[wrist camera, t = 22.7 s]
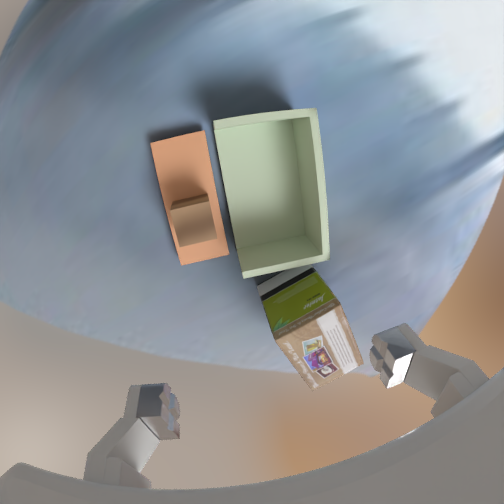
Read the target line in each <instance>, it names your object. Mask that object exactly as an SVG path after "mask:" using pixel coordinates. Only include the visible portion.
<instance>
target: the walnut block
mask: <svg viewBox="0 0 504 504" xmlns="http://www.w3.org/2000/svg"><path fill="white" fill-rule="evenodd" d="M170 213H171V217H172V221H173V225H174V229H175V232H176V236H177V240H178V243H179V247H183V246H188V245H192V244H196V243H201V242H205V241H209V240H214V239H217V234H216V230H215V225H214V220H213V216H212V211H211V206H210V202H209V197H208V193H207V194H202V195H198V196H194V197H189V198H185V199H181V200H177V201H173V202H172V205H171V208H170Z"/></svg>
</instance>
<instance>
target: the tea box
mask: <svg viewBox="0 0 504 504" xmlns="http://www.w3.org/2000/svg"><path fill="white" fill-rule="evenodd" d="M257 289H258V292H259V295H260V298H261V301H262V304H263V307H264V310H265V313H266V316H267V319H268V322H269V325H270V328H271V331H272V334H273V337H274V339H275V341H276V343H277V344H278V346H279V347H280V348H281V350H282V351H283V352H284V354H285V355H286V356H287V358H288V359H289V360H290V362H291V363H292V365H293V366H294V367H295V369H296V370H297V371H298V373H299V374H300V375H301V377H302V378H303V379H304V381H305V382H306V383H307V385H308V386H309V387H310V388H311V390H312V391H314V390H316V389H318V388H320V387H322V386H324V385H326V384H328V383H329V382H331V381H333V380H335V379H337V378H339V377H340V376H342V375H344V374H346V373H348V372H349V371H351V370H353V369H355V368H356V367H358V366H360V365H361V364H364V363H363V360H362V357H361V354H360V351H359V349H358V346H357V344H356V341H355V338H354V336H353V333H352V331H351V328H350V326H349V323H348V320H347V318H346V316H345V313H344V311H343V308H342V306H341V304H340V302H339V301H338V299H337V298H336V296H335V295H334V294H333V292H332V291H331V290H330V289H329V287H328V286H327V284H326V283H325V282H324V281H323V279H322V278H321V277H320V275H319V274H318V273H317V271H316V270H315V269H314V268H313V266H312V265H311V264H309V265H304V266H300V267H295V268H291V269H287V270H285V271H283V272H281V273H280V274H278V275H276V276H274V277H272V278H271V279H269V280H267V281H265V282H263V283H262V284H260V285H258V286H257Z"/></svg>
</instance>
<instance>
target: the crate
mask: <svg viewBox="0 0 504 504" xmlns="http://www.w3.org/2000/svg"><path fill="white" fill-rule="evenodd" d="M213 127H214V133H215V139H216V144H217V149H218V155H219V160H220V166H221V171H222V176H223V182H224V187H225V192H226V197H227V203H228V208H229V213H230V218H231V223H232V228H233V233H234V238H235V243H236V248H237V253H238V258H239V262H240V266H241V270H242V274H243V279H244V278H249V277H254V276H258V275H263V274H268V273H272V272H277V271H282V270H286V269H291V268H295V267H300V266H304V265H309V264H313V263H317V262H322V261H326V260H330V254H329V230H328V213H327V199H326V187H325V175H324V165H323V156H322V147H321V138H320V131H319V123H318V116H317V109H316V108H309V109H296V110H284V111H275V112H266V113H258V114H251V115H244V116H238V117H232V118H226V119H220V120H215V121H213Z"/></svg>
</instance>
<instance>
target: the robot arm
mask: <svg viewBox="0 0 504 504" xmlns="http://www.w3.org/2000/svg"><path fill="white" fill-rule="evenodd" d="M372 343H373V347H372V348H371V349H370V361H371V364H372V366H373V368H374V369H375V370H376V371H378V372H380V379H381V381H382V382H383V384H384V385H385V387H386V388H390V387H392V386H395V385H397V384H399V383H402V382H404V383H406V384H407V385H409V386H411V387H413V388H414V389H416V390H418V391H420V392H422V393H424V394H425V395H427V396H429V397H431V398H433V399H434V400H436V403H435V405H434V406H433V408H432V410H431V413H432V415H433V416H434V419H432V420H430V421H429V422H427V423H425V424H423V425H421V426H420V427H418V428H416V429H414V430H413V431H410V432H409V433H407V434H405V435H403V436H401V437H399V438H397V439H395V440H393V441H390V442H388V443H386V444H384V445H382V446H379V447H377V448H375V449H373V450H370V451H368V452H365V453H363V454H360V455H357V456H355V457H352V458H350V459H347V460H344V461H341V462H338V463H335V464H332V465H329V466H326V467H323V468H319V469H316V470H312V471H309V472H305V473H301V474H297V475H293V476H289V477H285V478H280V479H275V480H270V481H265V482H259V483H253V484H246V485H239V486H230V487H220V488H207V489H151V481H150V480H149V479H148V478H146V477H145V476H144V475H142V474H140V472H141V470H142V469H143V467H144V466H145V464H146V463H147V461H148V460H149V458H150V456H151V455H152V453H153V452H154V450H155V448H156V447H157V445H158V444H159V442H160V440H169V439H179V437H180V425H179V423H178V422H177V421H176V420H177V419H178V418H179V416H180V408H179V402H178V400H177V398H176V396H175V395H174V394H172V393H170V392H171V388H170V386H169V385H168V384H167V383H161V384H147V385H146V384H145V385H132V386H131V387H130V388H129V392H128V396H127V401H126V407H125V412H124V417H123V418H120V419H119V420H118V421H117V422H116V423H115V424H114V426H113V427H112V428H111V429H110V430H109V431H108V432H107V433H106V434H105V435H104V436H103V438H102V439H101V440H100V441H99V442H98V443H97V444H96V445H95V446H94V447H93V448H92V449H91V451H90V452H89V453H88V455H87V461H86V467H85V472H84V478H83V480H82V479H77V478H73V477H68V476H64V475H60V474H57V473H53V472H50V471H46V470H43V469H40V468H37V467H34V466H31V465H29V464H26V463H17V464H16V465H14V466H13V467H11V468H10V469H9V470H8V471H7V472H6V473H5V474H3V475H2V476H1V477H0V504H504V367H503V368H502V369H501V370H500V371H499V372H498V373H497V374H495V375H494V376H493V377H492V378H491V379H489V378H488V377H487V376H486V375H485V374H484V372H483V371H482V370H481V369H480V368H479V366H478V365H477V364H476V363H475V362H474V361H473V360H470V359H467V358H464V357H461V356H459V355H456V354H453V353H450V352H447V351H444V350H442V349H439V348H436V347H433V346H430V345H429V346H426V345H425V344H424V342H423V341H422V340H421V339H420V338H419V337H418V336H417V334H416V333H415V332H414V331H413V330H412V329H411V328H410V327H409V325H408V324H406V323H404V324H401V325H399V326H396V327H393V328H390V329H388V330H385V331H383V332H380V333H378V334H375V335H374V336H373V337H372Z"/></svg>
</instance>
